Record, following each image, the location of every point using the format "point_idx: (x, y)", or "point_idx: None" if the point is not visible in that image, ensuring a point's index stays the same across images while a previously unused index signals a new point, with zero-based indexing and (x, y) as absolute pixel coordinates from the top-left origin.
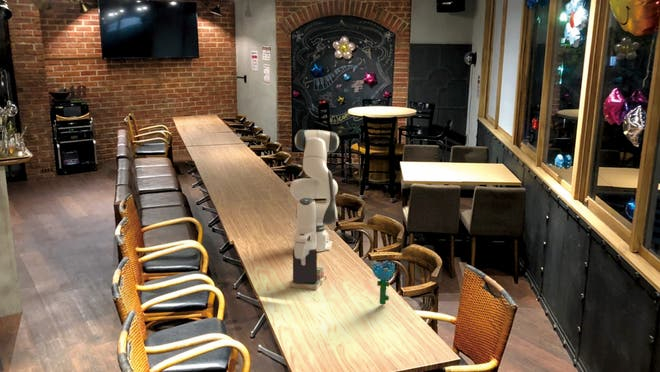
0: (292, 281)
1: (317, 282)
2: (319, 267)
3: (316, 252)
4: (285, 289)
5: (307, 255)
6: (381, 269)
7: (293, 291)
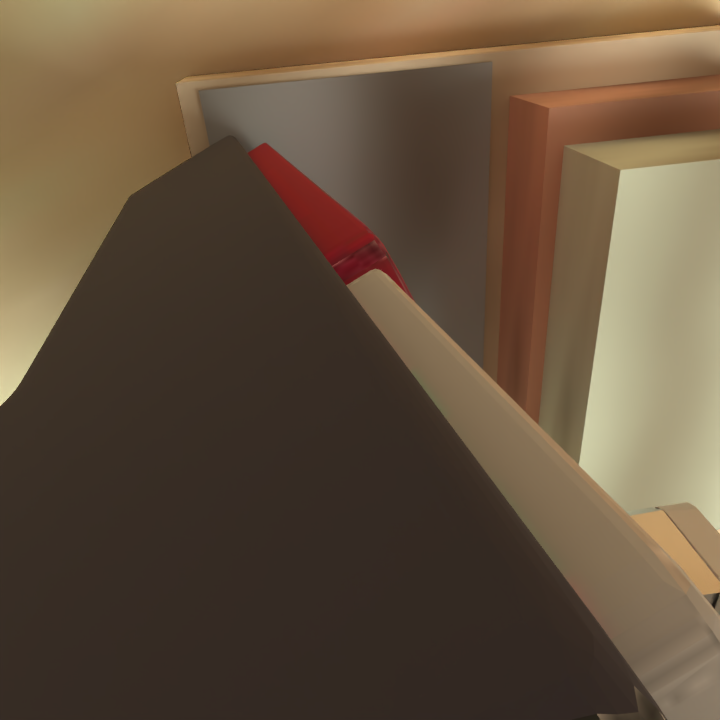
0: (253, 107)
1: None
2: (687, 501)
3: None
4: (33, 64)
5: None
6: None
7: (49, 235)
